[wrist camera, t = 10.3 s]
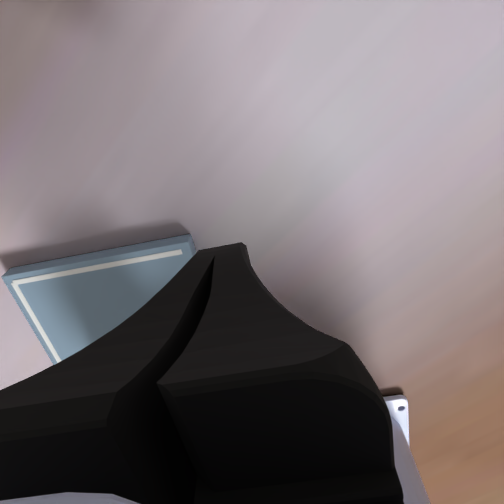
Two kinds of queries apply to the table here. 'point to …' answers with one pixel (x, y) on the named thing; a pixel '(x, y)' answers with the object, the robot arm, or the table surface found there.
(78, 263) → the blueprint board
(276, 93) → the table surface
